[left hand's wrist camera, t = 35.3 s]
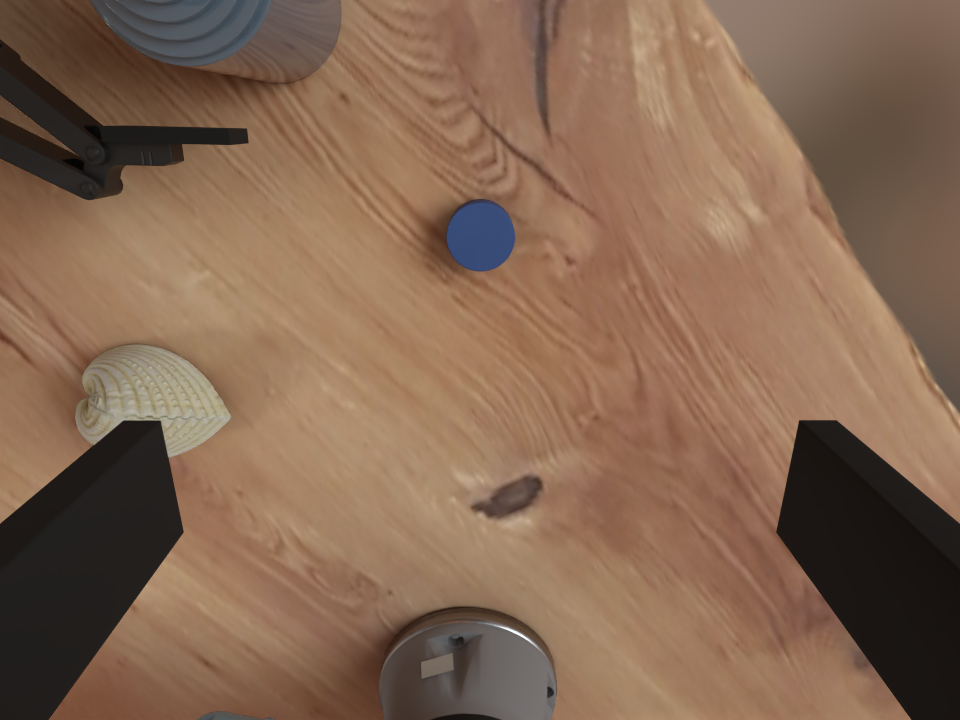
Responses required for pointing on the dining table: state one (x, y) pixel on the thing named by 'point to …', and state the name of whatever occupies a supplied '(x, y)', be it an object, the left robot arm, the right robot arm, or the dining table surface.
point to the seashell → (149, 396)
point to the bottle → (230, 34)
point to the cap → (480, 235)
